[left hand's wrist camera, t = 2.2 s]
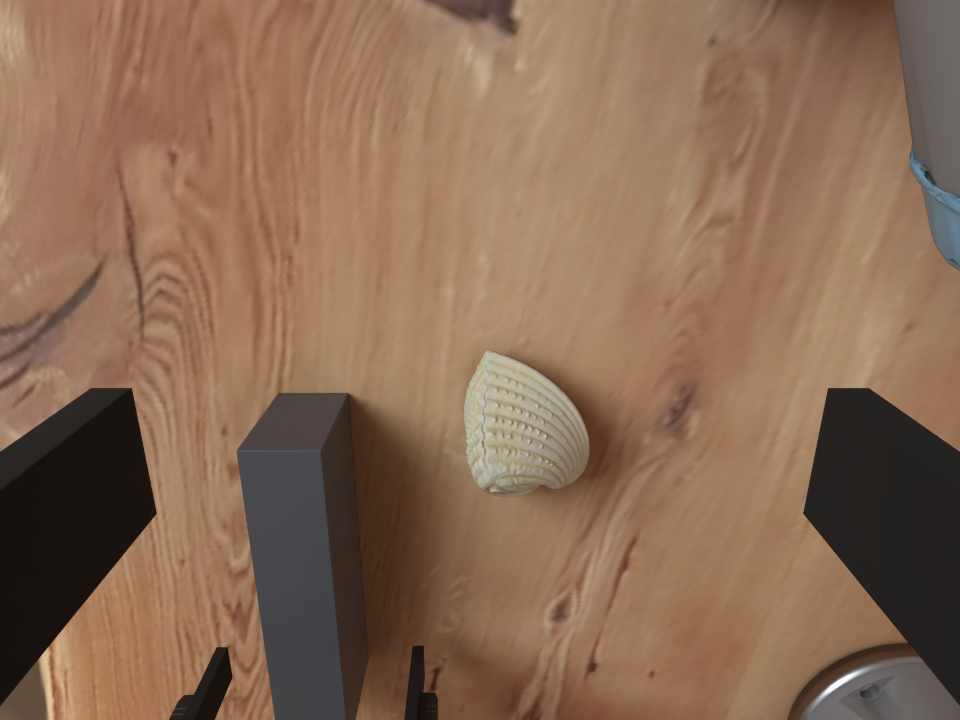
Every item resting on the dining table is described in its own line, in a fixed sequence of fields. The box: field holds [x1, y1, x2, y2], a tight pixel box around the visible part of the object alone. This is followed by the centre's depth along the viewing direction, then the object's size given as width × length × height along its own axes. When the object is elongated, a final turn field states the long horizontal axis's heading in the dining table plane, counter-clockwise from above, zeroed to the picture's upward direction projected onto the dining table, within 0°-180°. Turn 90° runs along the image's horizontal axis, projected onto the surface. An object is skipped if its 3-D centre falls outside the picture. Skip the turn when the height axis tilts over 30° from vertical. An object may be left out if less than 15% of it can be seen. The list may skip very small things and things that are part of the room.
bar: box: [237, 393, 368, 720], centre depth 43 cm, size 22×5×8 cm, turn 0°
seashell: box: [464, 351, 589, 497], centre depth 41 cm, size 8×8×8 cm
